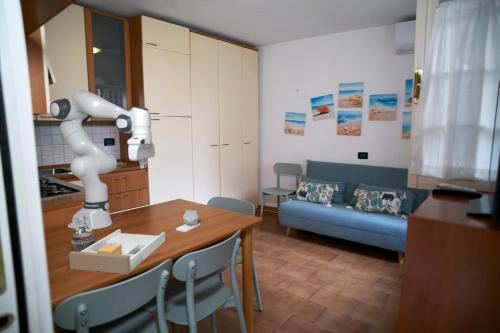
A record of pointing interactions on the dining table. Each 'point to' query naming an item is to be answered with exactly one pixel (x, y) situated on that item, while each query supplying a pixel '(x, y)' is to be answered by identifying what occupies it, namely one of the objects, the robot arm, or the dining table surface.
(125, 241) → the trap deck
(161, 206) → the dining table surface
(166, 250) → the dining table surface
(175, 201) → the dining table surface
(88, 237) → the cupcake
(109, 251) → the block
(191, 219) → the die
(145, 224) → the dining table surface
